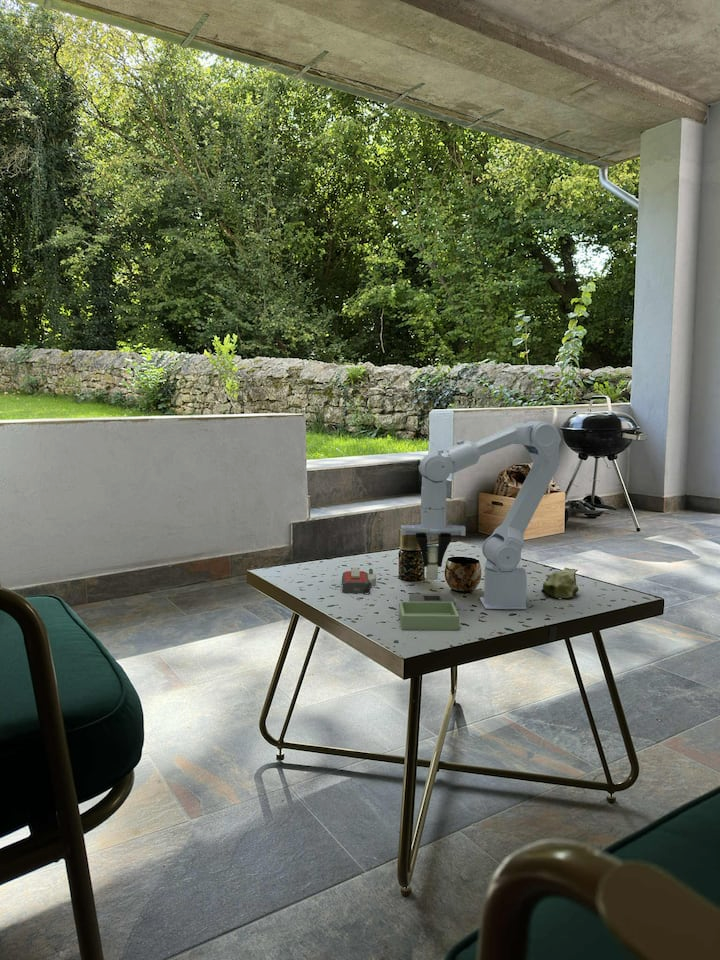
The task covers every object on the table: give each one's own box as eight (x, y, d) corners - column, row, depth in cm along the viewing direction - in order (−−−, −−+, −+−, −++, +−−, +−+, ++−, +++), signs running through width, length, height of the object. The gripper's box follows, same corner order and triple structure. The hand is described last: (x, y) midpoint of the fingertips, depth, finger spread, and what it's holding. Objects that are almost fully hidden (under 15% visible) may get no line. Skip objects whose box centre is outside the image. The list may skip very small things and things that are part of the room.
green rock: (568, 594, 182) (576, 565, 180) (579, 609, 173) (588, 578, 171) (533, 588, 182) (541, 558, 180) (543, 602, 173) (551, 571, 171)
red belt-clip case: (377, 596, 176) (374, 574, 196) (377, 578, 176) (374, 558, 196) (341, 596, 176) (342, 574, 196) (341, 578, 176) (342, 558, 195)
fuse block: (451, 601, 171) (451, 593, 171) (455, 611, 164) (455, 602, 164) (409, 601, 171) (409, 593, 171) (411, 611, 164) (411, 602, 164)
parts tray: (452, 614, 161) (452, 601, 161) (458, 630, 152) (459, 616, 151) (399, 614, 161) (399, 601, 161) (401, 629, 151) (402, 616, 151)
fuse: (437, 576, 167) (438, 545, 166) (438, 579, 164) (439, 547, 163) (425, 576, 167) (426, 544, 166) (426, 579, 164) (427, 547, 163)
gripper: (402, 510, 159) (401, 570, 161) (468, 510, 159) (466, 570, 161) (400, 504, 166) (399, 562, 168) (463, 505, 166) (462, 562, 168)
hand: (432, 565), depth 165 cm, fingers closed on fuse, 3 cm apart
